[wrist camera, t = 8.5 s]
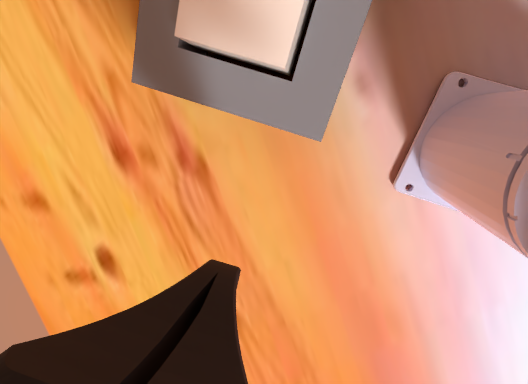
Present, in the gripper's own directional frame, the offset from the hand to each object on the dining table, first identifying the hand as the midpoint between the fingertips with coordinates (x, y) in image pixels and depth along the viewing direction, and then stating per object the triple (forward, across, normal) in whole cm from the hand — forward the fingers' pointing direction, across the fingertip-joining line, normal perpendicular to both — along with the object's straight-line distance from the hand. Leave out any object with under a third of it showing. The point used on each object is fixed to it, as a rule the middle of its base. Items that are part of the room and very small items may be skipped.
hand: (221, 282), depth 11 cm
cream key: (+8, +3, -12) cm, 15 cm away
